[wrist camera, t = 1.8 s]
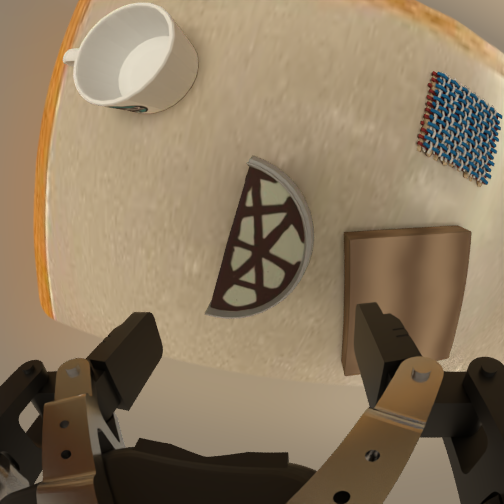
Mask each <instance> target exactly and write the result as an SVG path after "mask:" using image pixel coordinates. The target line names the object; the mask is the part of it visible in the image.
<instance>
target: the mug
mask: <svg viewBox="0 0 504 504" xmlns="http://www.w3.org/2000/svg"><path fill="white" fill-rule="evenodd" d="M63 63H65V64H67V65H69V66H73V67H74V75H73V77H74V82H75V86H76V89H77V90H78V92H79V93H80V95H81V97H82V98H84V99H85V100H86V101H88V102H89V103H91V104H95V105H99V106H104V107H110V108H116V109H122V110H127V111H132V112H138V113H143V114H145V113H156V112H160V111H163V110H165V109H167V108H169V107H171V106H173V105H175V104H176V103H177V102H178V101H179V100H180V99H182V98H183V97H184V96H185V94H186V93H187V92H188V91H189V89H190V88H191V87H192V84H193V82H194V80H195V78H196V76H197V70H198V56H197V53H196V51H195V49H194V47H193V45H192V44H191V42H190V41H189V40H188V38H187V37H186V36H185V34H184V33H183V31H182V30H181V29H180V27H179V26H178V25H177V23H176V22H175V21H174V19H173V18H172V17H171V15H170V14H169V13H168V12H167V11H166V10H164V9H163V8H162V7H160V6H158V5H155V4H152V3H134V4H129V5H125V6H123V7H121V8H118V9H116V10H114V11H112V12H111V13H109V14H108V15H106V16H105V17H104V18H102V19H101V20H100V21H99V22H98V23H97V24H96V25H95V26H94V27H93V28H92V29H91V30H90V31H89V33H88V34H87V36H86V37H85V38H84V40H83V41H82V43H81V46H80V48H75V49H69V50H68V51H67V52H66V53H65V55H64V57H63Z"/></svg>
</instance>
